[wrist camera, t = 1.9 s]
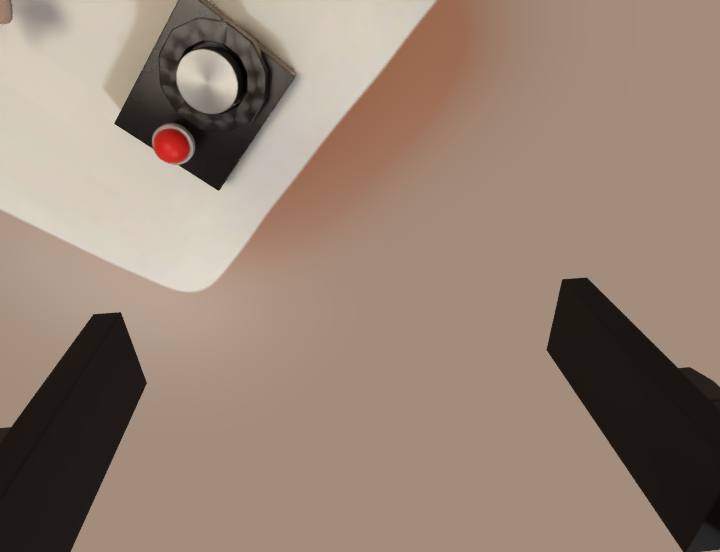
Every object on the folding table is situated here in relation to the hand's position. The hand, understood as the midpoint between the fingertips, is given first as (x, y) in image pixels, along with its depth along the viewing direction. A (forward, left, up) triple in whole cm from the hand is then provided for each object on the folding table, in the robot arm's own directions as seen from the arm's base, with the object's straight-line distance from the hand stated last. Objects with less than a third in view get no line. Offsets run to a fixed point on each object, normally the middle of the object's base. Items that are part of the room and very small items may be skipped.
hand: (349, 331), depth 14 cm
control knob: (+6, -6, -21) cm, 22 cm away
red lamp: (+10, -3, -20) cm, 23 cm away
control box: (+8, -5, -24) cm, 26 cm away
